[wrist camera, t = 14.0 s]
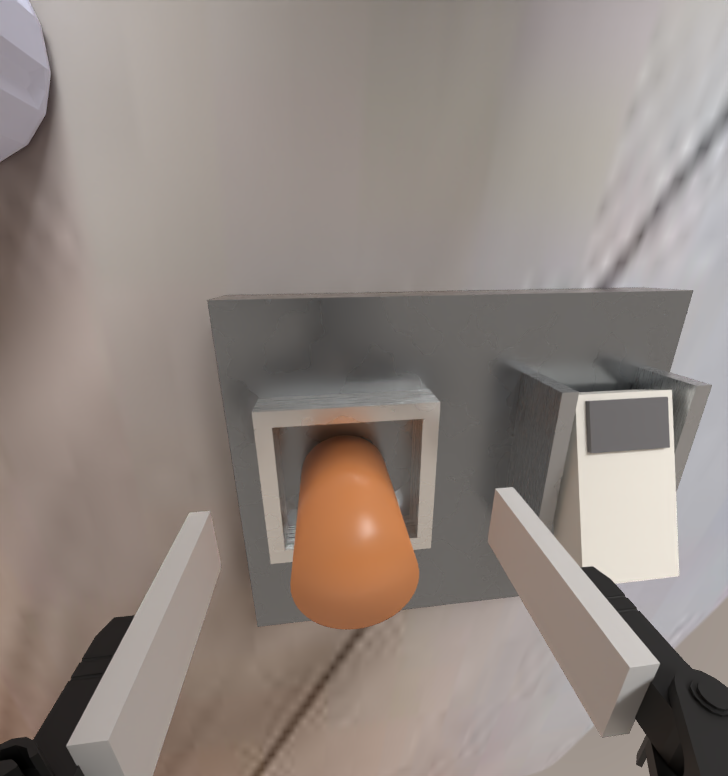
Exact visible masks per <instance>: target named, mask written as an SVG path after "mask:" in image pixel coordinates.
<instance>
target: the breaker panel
mask: <svg viewBox="0 0 728 776" xmlns="http://www.w3.org/2000/svg"><path fill="white" fill-rule="evenodd" d="M692 293H693V290H677V289H660V288H589V289H536V290H483V291H430V292H377V293H324V294H270V295H225V296H221V297H217V298H214V299H210V300H207V302H208V309H209V315H210V322H211V328H212V334H213V341H214V347H215V354H216V360H217V367H218V373H219V380H220V386H221V393H222V399H223V406H224V412H225V419H226V425H227V432H228V438H229V444H230V451H231V457H232V464H233V470H234V477H235V483H236V490H237V496H238V503H239V509H240V516H241V522H242V529H243V535H244V542H245V548H246V554H247V561H248V567H249V574H250V580H251V587H252V593H253V600H254V606H255V613H256V619H257V626H258V627H260V626H268V625H277V624H285V623H294V622H302V621H311V620H310V619H309V618H307V617H306V616H305V615H304V614H303V613H302V612H301V611H300V610H299V609H298V608H297V606H296V604H295V603H294V600H293V598H292V594H291V586H290V582H291V572H292V562H293V552H294V542H295V532H296V522H297V511H298V501H299V491H300V481H301V471H302V466H303V462H304V460H305V458H306V456H307V455H308V453H309V452H310V451H311V450H312V449H313V448H314V447H315V446H316V445H317V444H319V443H320V442H322V441H324V440H326V439H329V438H331V437H336V436H342V435H349V436H356V437H360V438H362V439H365V440H367V441H369V442H370V443H372V444H373V445H374V446H375V447H376V448H377V449H378V450H379V451H380V453H381V455H382V456H383V459H384V462H385V465H386V468H387V471H388V474H389V477H390V480H391V483H392V486H393V489H394V492H395V495H396V498H397V501H398V504H399V507H400V510H401V514H402V517H403V520H404V523H405V526H406V529H407V532H408V535H409V538H410V541H411V544H412V547H413V550H414V553H415V556H416V559H417V562H418V567H419V581H418V585H417V588H416V590H415V592H414V595H413V596H412V598H411V599H410V601H409V602H408V603H407V604H406V605H405V606H404V607H403V608H402V609H401V610H404V609H413V608H421V607H430V606H438V605H447V604H455V603H464V602H472V601H481V600H489V599H498V598H506V597H515V596H519V595H518V593H517V591H516V590H515V588H514V586H513V584H512V583H511V581H510V579H509V578H508V576H507V574H506V572H505V571H504V569H503V567H502V566H501V564H500V562H499V560H498V559H497V557H496V555H495V554H494V552H493V550H492V548H491V547H490V545H489V543H488V542H487V541H488V534H489V527H490V521H491V514H492V507H493V501H494V494H495V489H496V488H508V487H514V489H515V490H516V491H517V492H518V493H519V495H520V496H521V497H522V498H523V499H524V501H525V502H526V503H527V504H528V505H529V507H530V508H531V509H532V510H533V511H534V513H535V514H536V515H537V516H538V517H539V519H540V520H541V521H542V522H543V523H544V525H545V526H546V527H547V528H548V529H549V531H550V532H551V533H552V534H553V535H554V526H553V518H554V514H555V509H556V504H557V499H558V494H559V489H560V484H561V479H562V475H563V470H564V465H565V460H566V455H567V450H568V445H569V440H570V435H571V431H572V426H573V421H574V416H575V411H576V406H577V401H578V396H579V392H597V391H616V390H672V403H673V429H674V454H675V480H676V491H677V488H678V485H679V482H680V479H681V477H682V474H683V471H684V468H685V465H686V462H687V459H688V456H689V453H690V450H691V447H692V444H693V441H694V438H695V435H696V432H697V429H698V426H699V423H700V420H701V417H702V414H703V411H704V408H705V405H706V402H707V399H708V396H709V393H710V390H711V387H712V385H711V384H707V383H704V382H700V381H697V380H694V379H690V378H687V377H684V376H680V375H677V374H674V373H670V369H671V366H672V362H673V359H674V355H675V352H676V349H677V345H678V342H679V338H680V335H681V331H682V328H683V324H684V321H685V317H686V314H687V311H688V307H689V304H690V300H691V297H692Z"/></svg>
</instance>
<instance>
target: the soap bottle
mask: <svg viewBox="0 0 728 776" xmlns="http://www.w3.org/2000/svg"><path fill="white" fill-rule="evenodd" d="M50 77H51V71H50V66H49V61H48V56H47V52H46V47H45V42H44V37H43V32H42V27H41V24H40V22H39V20H38V18H37V16H36V14H35V12H34V10H33V8H32V6H31V4H30V2H29V0H0V162H1V161H3V160H4V159H6V158H7V157H9V156H11V155H12V154H14V153H15V152H17V151H19V150H20V149H22V148H23V147H25V146H27V145H28V144H29V142H30V140H31V139H32V137H33V135H34V134H35V132H36V130H37V128H38V127H39V125H40V123H41V122H42V120H43V118H44V117H45V115H46V110H47V102H48V94H49V86H50Z"/></svg>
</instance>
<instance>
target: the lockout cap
mask: <svg viewBox="0 0 728 776" xmlns="http://www.w3.org/2000/svg"><path fill="white" fill-rule="evenodd" d="M418 581H419V567H418V562H417V559H416V556H415V553H414V550H413V547H412V544H411V541H410V538H409V535H408V532H407V529H406V526H405V523H404V520H403V517H402V514H401V510H400V507H399V504H398V501H397V498H396V495H395V492H394V489H393V486H392V483H391V480H390V477H389V474H388V471H387V468H386V465H385V462H384V459H383V456H382V455H381V453H380V451H379V450H378V449H377V448H376V447H375V446H374V445H373V444H372V443H370V442H369V441H367V440H365V439H362V438H360V437H356V436H349V435H342V436H336V437H331V438H329V439H326V440H324V441H322V442H320V443H319V444H317V445H316V446H315V447H314V448H313V449H312V450H311V451H310V452H309V453H308V455H307V456H306V458H305V460H304V462H303V466H302V471H301V481H300V491H299V501H298V511H297V522H296V532H295V542H294V552H293V562H292V572H291V582H290V586H291V594H292V598H293V600H294V603H295V604H296V606H297V608H298V609H299V610H300V611H301V612H302V613H303V614H304V615H305V616H306V617H307V618H309V619H310V620H312V621H314V622H316V623H318V624H320V625H323V626H326V627H330V628H336V629H359V628H365V627H369V626H372V625H375V624H378V623H381V622H383V621H385V620H387V619H389V618H390V617H392V616H394V615H395V614H396V613H398V612H399V611H400V610H401V609H402V608H403V607H404V606H405V605H406V604H407V603H408V602H409V601H410V599H411V598H412V596H413V595H414V592H415V590H416V588H417V585H418Z"/></svg>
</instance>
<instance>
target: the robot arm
mask: <svg viewBox="0 0 728 776" xmlns="http://www.w3.org/2000/svg"><path fill="white" fill-rule="evenodd" d="M487 542H488V543H489V545H490V547H491V548H492V550H493V552H494V554H495V555H496V557H497V559H498V560H499V562H500V564H501V566H502V567H503V569H504V571H505V572H506V574H507V576H508V578H509V579H510V581H511V583H512V584H513V586H514V588H515V590H516V591H517V593H518V595H519V596H520V598H521V600H522V602H523V603H524V605H525V607H526V608H527V610H528V612H529V614H530V615H531V617H532V619H533V620H534V622H535V624H536V626H537V627H538V629H539V631H540V633H541V634H542V636H543V638H544V639H545V641H546V643H547V645H548V646H549V648H550V650H551V651H552V653H553V655H554V657H555V658H556V660H557V662H558V663H559V665H560V667H561V669H562V670H563V672H564V674H565V675H566V677H567V679H568V681H569V682H570V684H571V686H572V687H573V689H574V691H575V693H576V694H577V696H578V698H579V699H580V701H581V703H582V705H583V706H584V708H585V710H586V711H587V713H588V715H589V717H590V718H591V720H592V722H593V723H594V725H595V727H596V729H597V730H598V732H599V734H600V735H601V737H602V738H604V737H610V736H616V735H622V734H629V733H630V731H631V728H632V726H633V723H634V722H635V719H636V720H637V722H638V723H639V725H640V726H641V728H642V729H643V731H644V732H645V734H646V736H645V738H644V741H643V743H642V745H641V747H640V749H639V751H638V753H637V761H636V764H637V765H638V766H640V767H642V766H643V764H644V762H645V760H646V758H647V763H648V768H649V773H650V776H728V687H726V686H725V685H724V684H722V683H721V682H720V681H718V680H717V679H715V678H714V677H712V676H710V675H708V674H706V673H704V672H702V671H699V670H695V669H692V668H691V667H690V666H689V665H688V664H687V663H686V662H685V661H684V660H683V659H682V658H681V657H680V656H679V654H678V653H677V652H676V651H675V650H674V649H673V648H672V647H671V645H670V644H669V643H668V642H667V641H666V640H665V639H664V638H663V637H662V635H661V634H660V633H659V632H658V631H657V630H656V629H655V628H654V627H653V625H652V624H651V623H650V622H649V621H648V620H647V619H646V618H645V617H644V615H643V614H642V613H641V612H640V611H638V610H637V608H636V607H635V605H634V604H633V603H632V602H631V601H630V600H629V599H628V598H626V597H625V594H624V593H623V592H622V591H621V590H620V589H619V588H618V587H617V585H616V584H615V583H614V582H613V581H612V580H611V579H610V578H609V577H607V576H606V575H604V574H603V573H602V572H600V571H599V570H598V569H596V568H595V567H593V566H590V567H579V565H578V564H577V563H576V562H575V561H574V559H573V558H572V557H571V556H570V555H569V553H568V552H567V551H566V550H565V549H564V547H563V546H562V545H561V544H560V543H559V541H558V540H557V539H556V538H555V537H554V535H553V534H552V533H551V532H550V531H549V529H548V528H547V527H546V526H545V525H544V523H543V522H542V521H541V520H540V519H539V517H538V516H537V515H536V514H535V513H534V511H533V510H532V509H531V508H530V507H529V505H528V504H527V503H526V502H525V501H524V499H523V498H522V497H521V496H520V495H519V493H518V492H517V491H516V490H515V489H514V487H508V488H496V489H495V494H494V501H493V507H492V514H491V521H490V527H489V534H488V541H487ZM221 567H222V565H221V560H220V555H219V550H218V545H217V540H216V535H215V530H214V525H213V520H212V515H211V511H202V512H189V514H188V516H187V518H186V520H185V522H184V523H183V525H182V527H181V529H180V531H179V533H178V535H177V537H176V539H175V541H174V542H173V544H172V546H171V548H170V550H169V552H168V554H167V556H166V558H165V559H164V561H163V563H162V565H161V567H160V569H159V571H158V573H157V575H156V577H155V578H154V580H153V582H152V584H151V586H150V588H149V590H148V592H147V594H146V595H145V597H144V599H143V601H142V603H141V605H140V607H139V609H138V611H137V613H136V614H135V615H134V616H125V617H115V618H113V619H112V620H111V621H110V622H109V623H108V624H107V625H106V626H105V627H104V628H103V629H102V631H101V632H100V633H99V634H98V635H97V636H96V637H95V638H94V640H93V642H92V643H91V645H90V647H89V648H88V650H87V651H86V653H85V655H84V656H83V658H82V662H81V663H79V665H78V666H77V668H76V670H75V671H74V673H73V675H72V676H71V680H70V681H68V683H67V685H66V686H65V688H64V690H63V691H62V693H61V695H60V696H59V698H58V700H57V701H56V703H55V705H54V706H53V708H52V710H51V711H50V713H49V715H48V716H47V718H46V720H45V721H44V723H43V724H42V726H41V728H40V729H39V731H38V733H37V734H36V736H35V738H34V739H33V740H31V739H29V738H27V737H23V738H15V739H11V740H9V741H7V742H4V743H2V744H0V776H153V774H154V771H155V767H156V764H157V761H158V758H159V755H160V752H161V749H162V746H163V743H164V740H165V737H166V734H167V731H168V728H169V725H170V722H171V719H172V716H173V713H174V710H175V707H176V704H177V701H178V698H179V695H180V692H181V689H182V686H183V683H184V679H185V676H186V673H187V670H188V667H189V664H190V661H191V658H192V655H193V652H194V649H195V646H196V643H197V640H198V637H199V634H200V631H201V628H202V625H203V622H204V619H205V616H206V613H207V610H208V607H209V604H210V601H211V598H212V594H213V591H214V588H215V585H216V582H217V579H218V576H219V573H220V570H221Z"/></svg>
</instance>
